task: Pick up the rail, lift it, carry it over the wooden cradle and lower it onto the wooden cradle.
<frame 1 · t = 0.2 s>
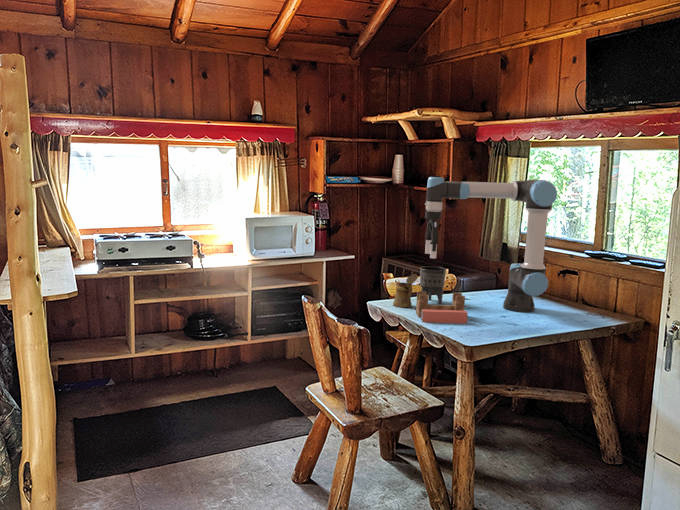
hand: (430, 256, 278), 27 cm above the table, fingers open, 13 cm apart
rail: (443, 321, 268), on the table
wooden cradle: (439, 315, 277), on the table
brown jug: (404, 307, 293), on the table
planter: (430, 302, 304), on the table
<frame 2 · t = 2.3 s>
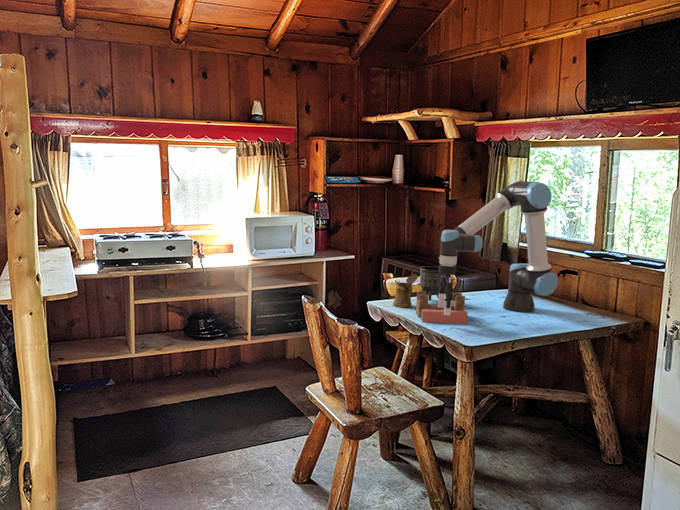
hand: (443, 311, 267), 5 cm above the table, fingers open, 13 cm apart
nothing on the table moved.
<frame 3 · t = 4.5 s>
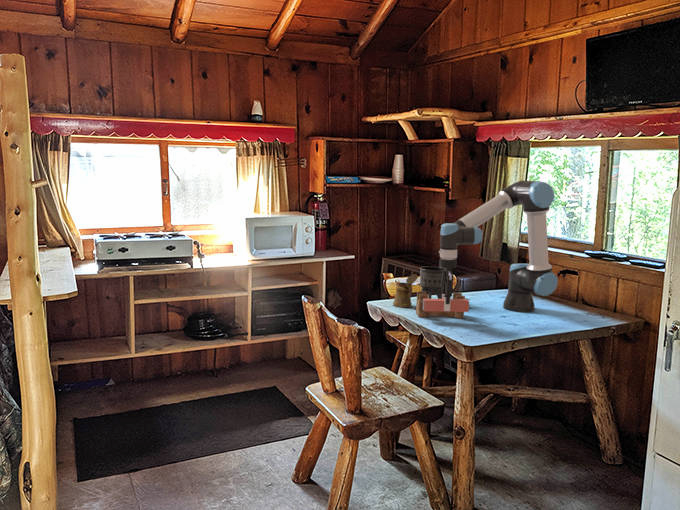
hand: (445, 309, 267), 6 cm above the table, fingers closed on rail, 3 cm apart
rail: (445, 310, 267), point 5 cm above the table, touching gripper
everything else where it was.
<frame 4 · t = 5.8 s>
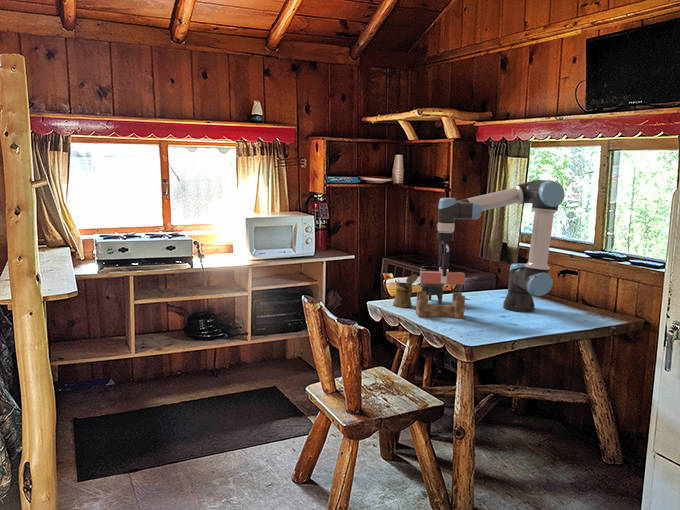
hand: (442, 282, 274), 16 cm above the table, fingers closed on rail, 3 cm apart
rail: (441, 283, 274), point 16 cm above the table, touching gripper
everything else where it was.
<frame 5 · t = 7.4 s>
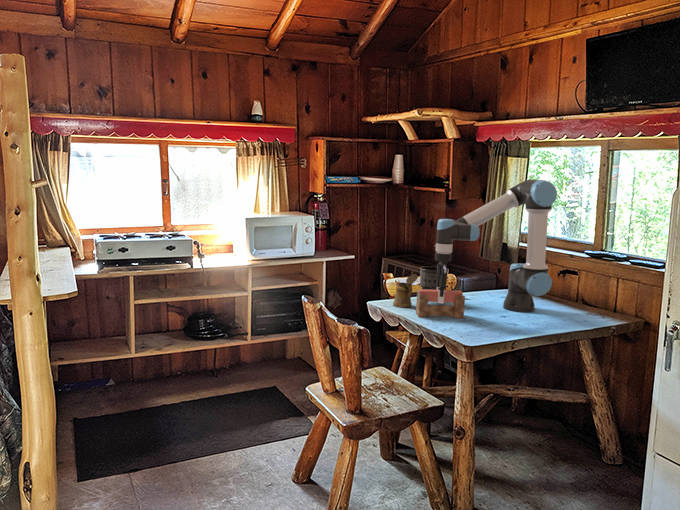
hand: (439, 302, 276), 7 cm above the table, fingers closed on rail, 3 cm apart
rail: (439, 301, 276), point 7 cm above the table, touching wooden cradle, gripper
everything else where it was.
when the fingers open (7 cm above the table, at t = 7.5 s): rail stays where it is, resting on wooden cradle.
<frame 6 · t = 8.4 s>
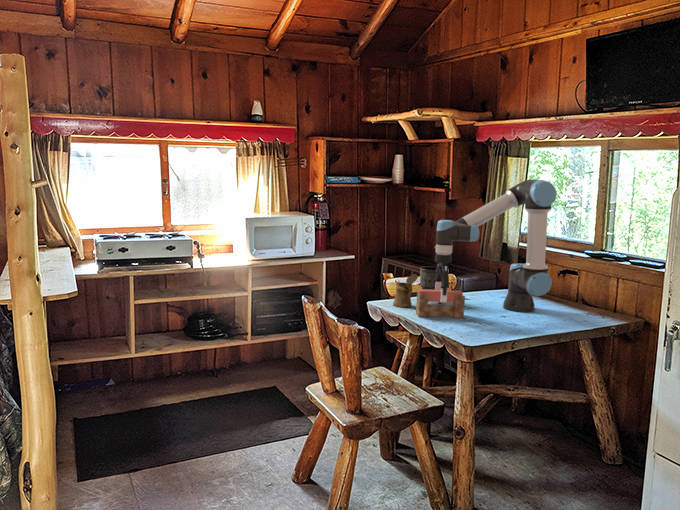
hand: (440, 298, 276), 8 cm above the table, fingers open, 13 cm apart
rail: (439, 301, 276), point 7 cm above the table, touching wooden cradle
everything else where it was.
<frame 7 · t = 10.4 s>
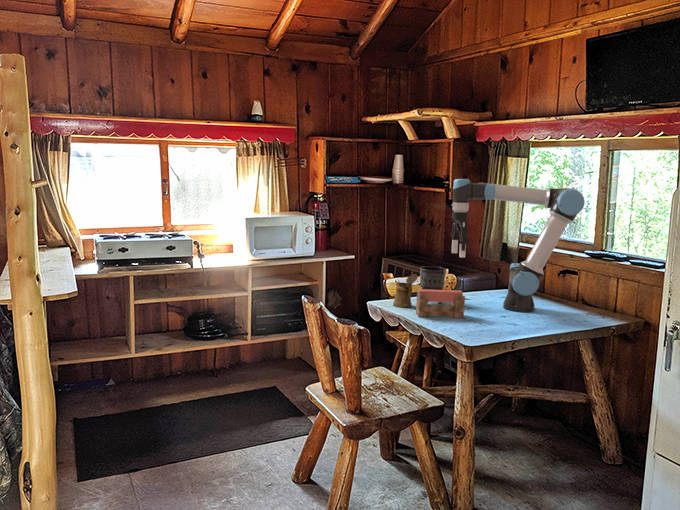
hand: (458, 255, 287), 27 cm above the table, fingers open, 13 cm apart
nothing on the table moved.
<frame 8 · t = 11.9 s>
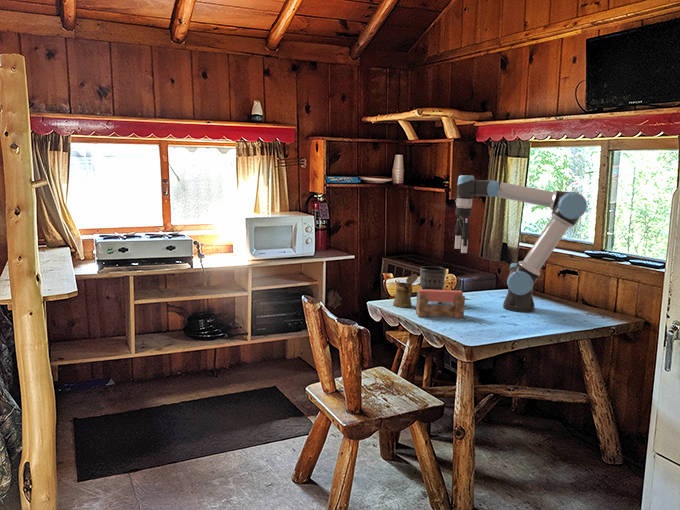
hand: (460, 250, 290), 29 cm above the table, fingers open, 13 cm apart
nothing on the table moved.
at the end: rail 0.3 cm off-centre on the wooden cradle, point 7.0 cm above the wooden cradle's base; rail tilted 0°; the gripper is holding nothing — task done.
